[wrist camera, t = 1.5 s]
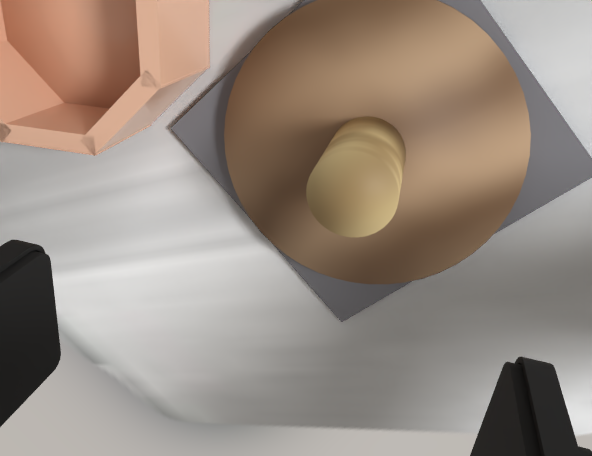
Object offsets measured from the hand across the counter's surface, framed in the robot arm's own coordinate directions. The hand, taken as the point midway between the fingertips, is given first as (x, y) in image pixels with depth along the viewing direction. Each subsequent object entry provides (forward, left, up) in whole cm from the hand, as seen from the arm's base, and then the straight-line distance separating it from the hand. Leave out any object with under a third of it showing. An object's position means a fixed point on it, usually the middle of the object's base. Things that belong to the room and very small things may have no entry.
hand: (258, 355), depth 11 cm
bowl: (+14, +8, -21) cm, 26 cm away
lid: (-1, +1, -20) cm, 20 cm away
